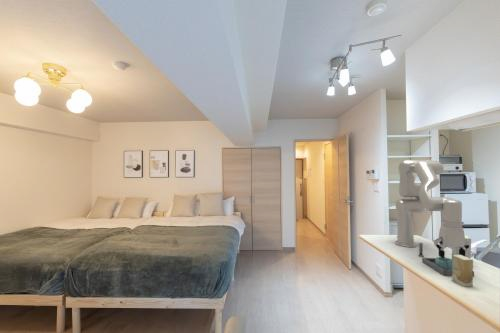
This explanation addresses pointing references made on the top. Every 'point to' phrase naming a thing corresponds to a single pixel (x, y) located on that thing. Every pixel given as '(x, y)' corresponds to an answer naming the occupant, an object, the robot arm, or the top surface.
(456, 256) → the skincare box
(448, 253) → the top surface
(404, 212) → the robot arm
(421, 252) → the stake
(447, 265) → the teal magnifying glass
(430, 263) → the tray
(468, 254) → the skincare box
